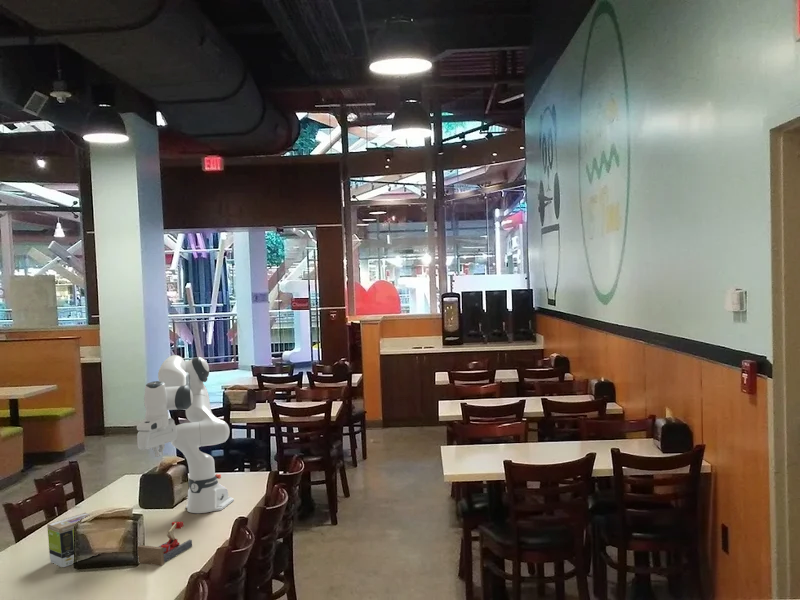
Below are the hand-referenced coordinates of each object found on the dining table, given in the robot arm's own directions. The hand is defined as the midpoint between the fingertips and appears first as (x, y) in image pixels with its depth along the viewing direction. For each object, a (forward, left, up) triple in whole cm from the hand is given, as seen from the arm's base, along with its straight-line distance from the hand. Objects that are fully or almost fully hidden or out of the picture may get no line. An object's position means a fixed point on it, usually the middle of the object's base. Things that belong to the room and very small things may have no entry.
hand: (159, 456), depth 291 cm
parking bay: (+20, +18, -31) cm, 41 cm away
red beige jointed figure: (+17, +18, -31) cm, 40 cm away
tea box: (+32, -14, -31) cm, 47 cm away
